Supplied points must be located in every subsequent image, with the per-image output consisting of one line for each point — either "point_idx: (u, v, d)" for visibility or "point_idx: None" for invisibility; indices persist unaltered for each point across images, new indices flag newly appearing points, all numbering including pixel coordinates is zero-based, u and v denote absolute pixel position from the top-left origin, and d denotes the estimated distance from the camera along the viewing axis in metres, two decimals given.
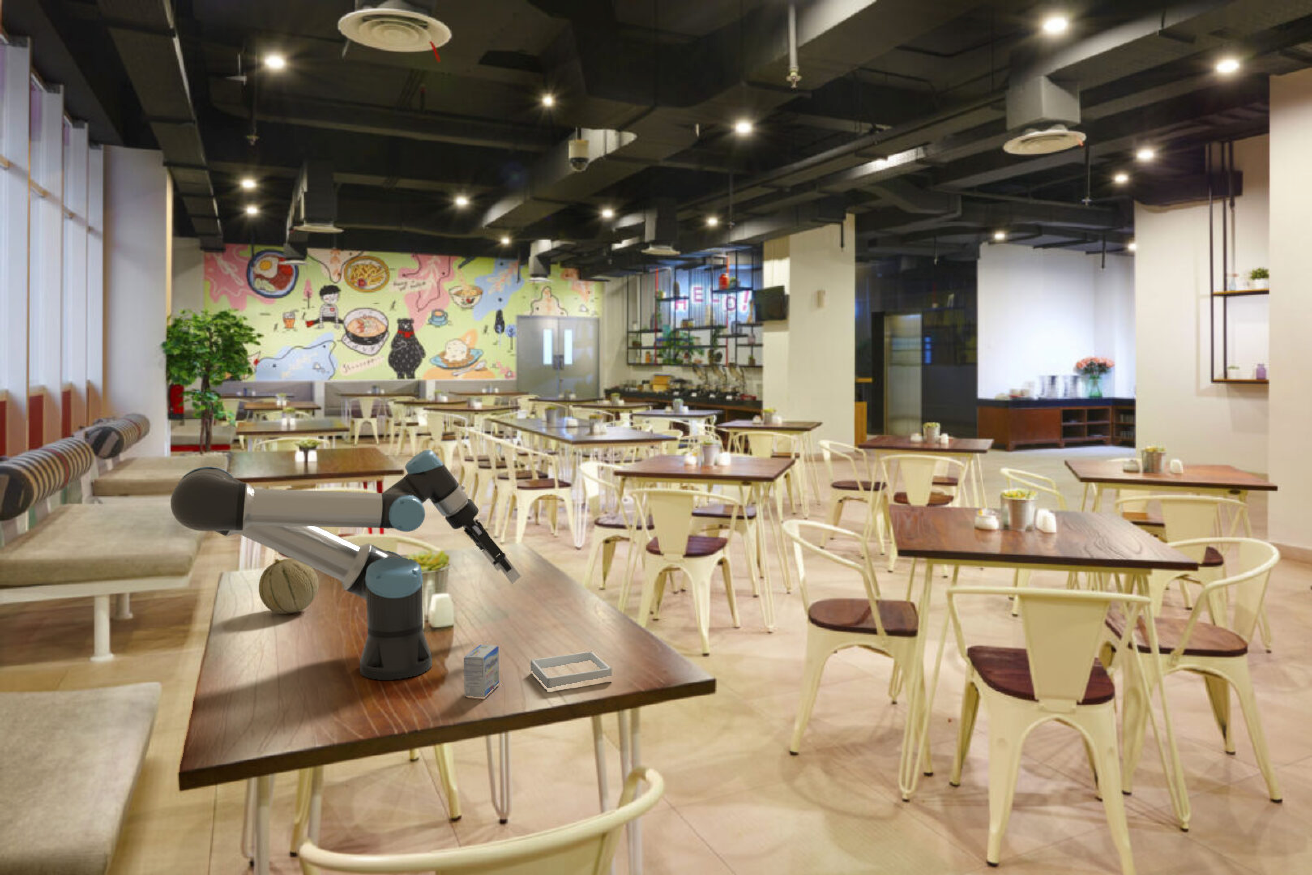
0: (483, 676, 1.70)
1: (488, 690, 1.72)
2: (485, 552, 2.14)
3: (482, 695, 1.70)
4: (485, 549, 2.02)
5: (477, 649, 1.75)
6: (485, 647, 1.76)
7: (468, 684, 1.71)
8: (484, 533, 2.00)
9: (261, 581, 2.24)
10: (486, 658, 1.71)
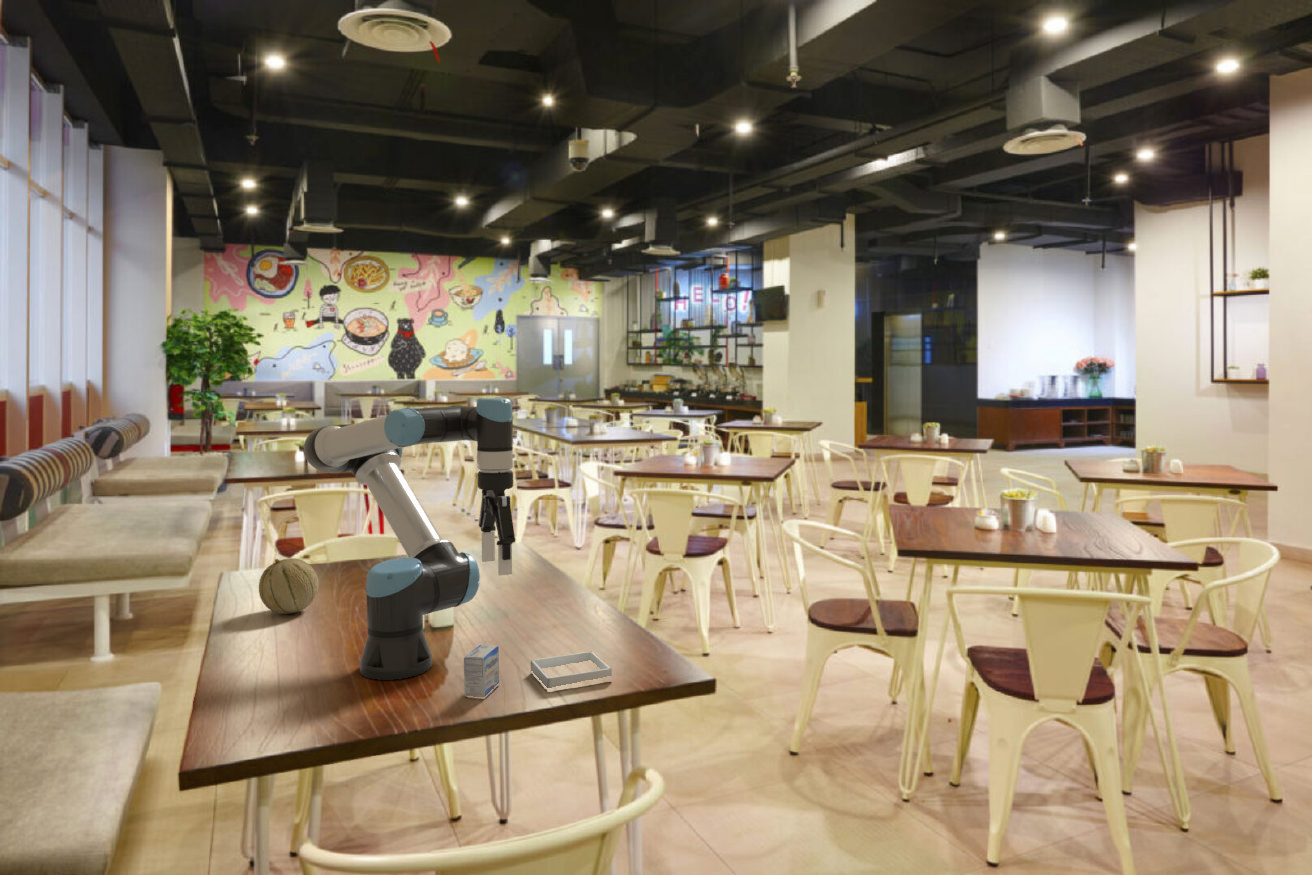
0: (483, 676, 1.70)
1: (488, 690, 1.72)
2: (484, 535, 1.90)
3: (482, 695, 1.70)
4: (497, 525, 1.79)
5: (477, 649, 1.75)
6: (485, 648, 1.76)
7: (468, 684, 1.71)
8: (508, 508, 1.78)
9: (261, 581, 2.24)
10: (486, 658, 1.71)
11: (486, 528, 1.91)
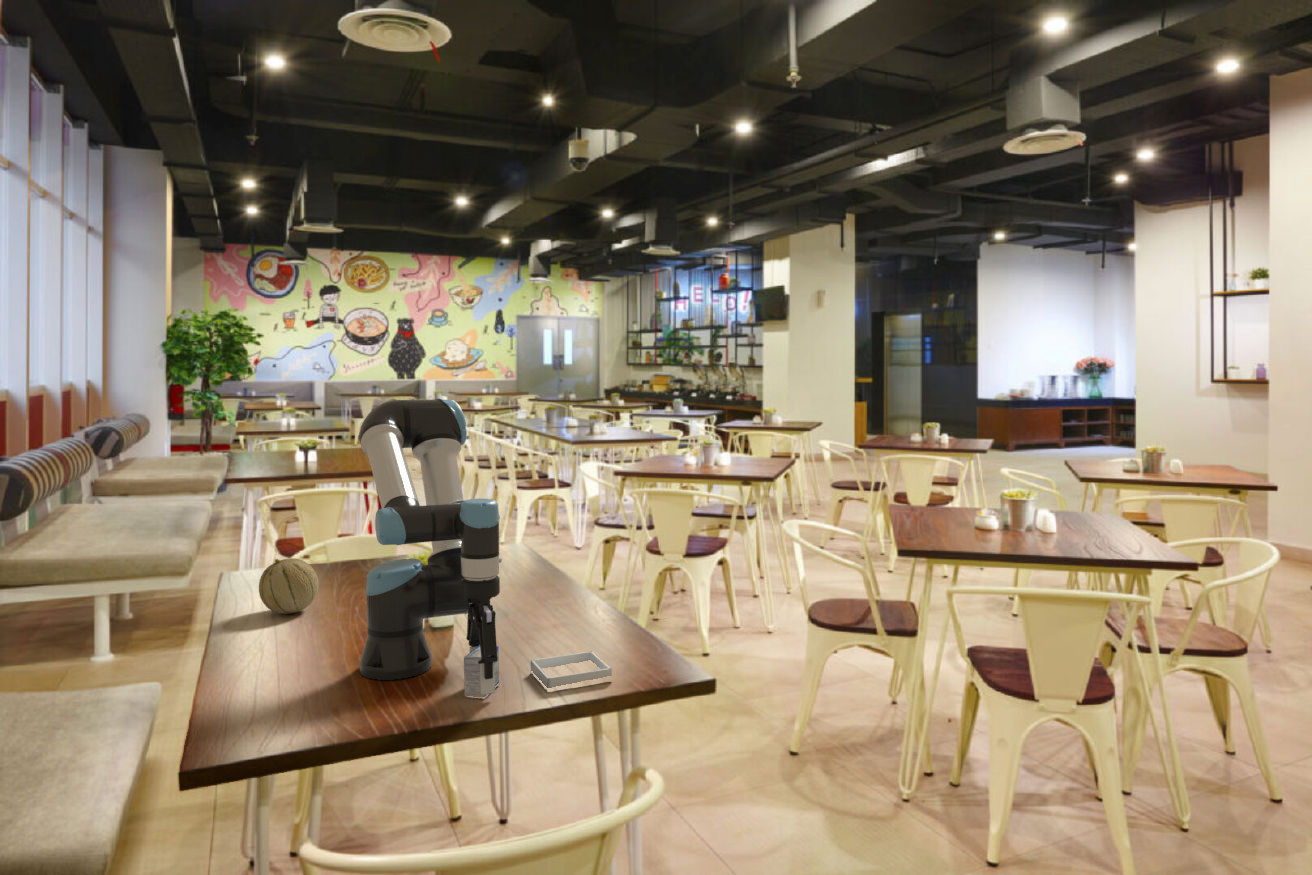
0: None
1: None
2: (472, 650, 1.78)
3: (482, 695, 1.70)
4: (480, 640, 1.69)
5: (477, 649, 1.75)
6: None
7: (468, 684, 1.71)
8: (492, 624, 1.68)
9: (261, 581, 2.24)
10: None
11: (474, 642, 1.78)
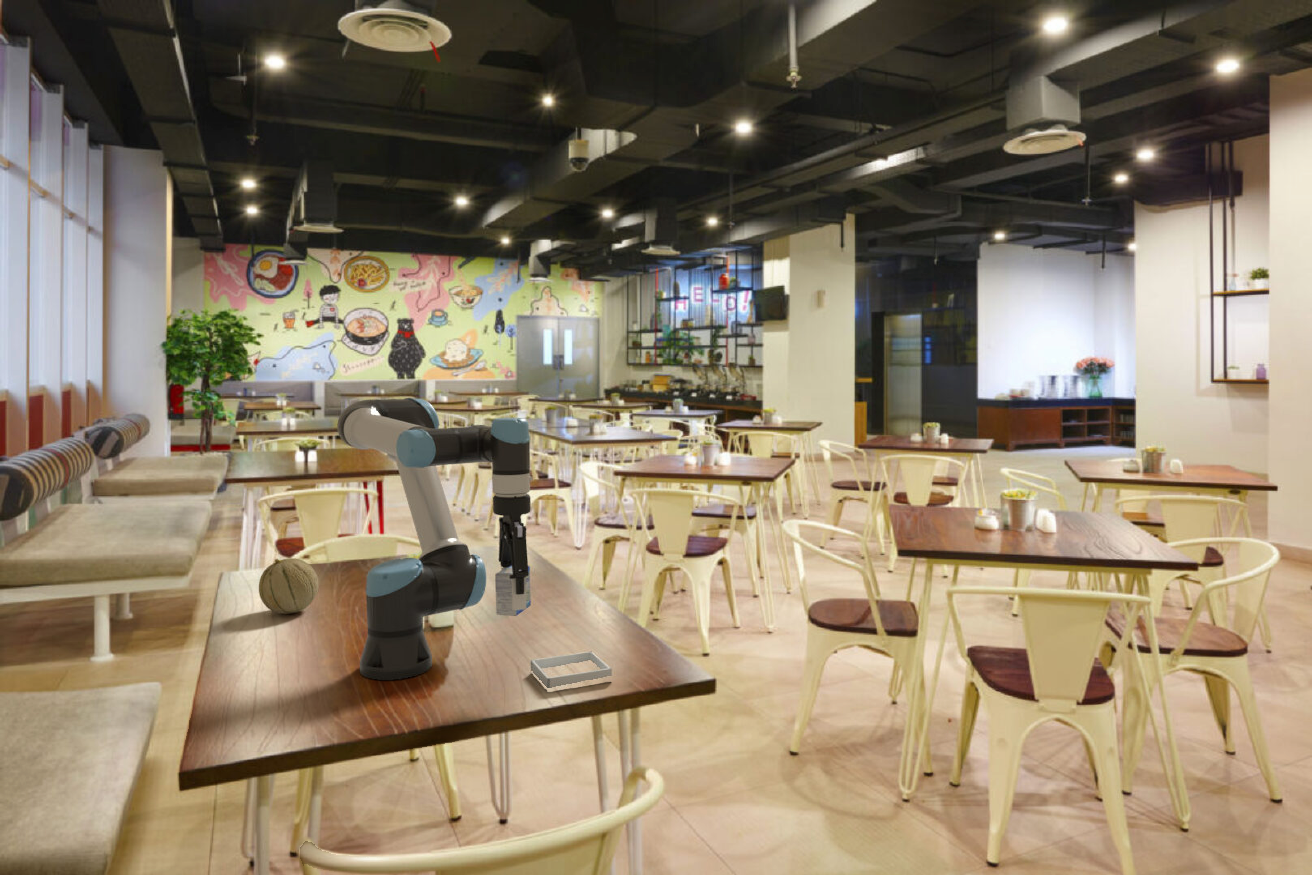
0: None
1: None
2: None
3: (513, 611, 1.71)
4: (511, 556, 1.70)
5: (508, 568, 1.76)
6: None
7: (499, 601, 1.72)
8: (523, 539, 1.68)
9: (261, 581, 2.24)
10: None
11: (506, 563, 1.79)
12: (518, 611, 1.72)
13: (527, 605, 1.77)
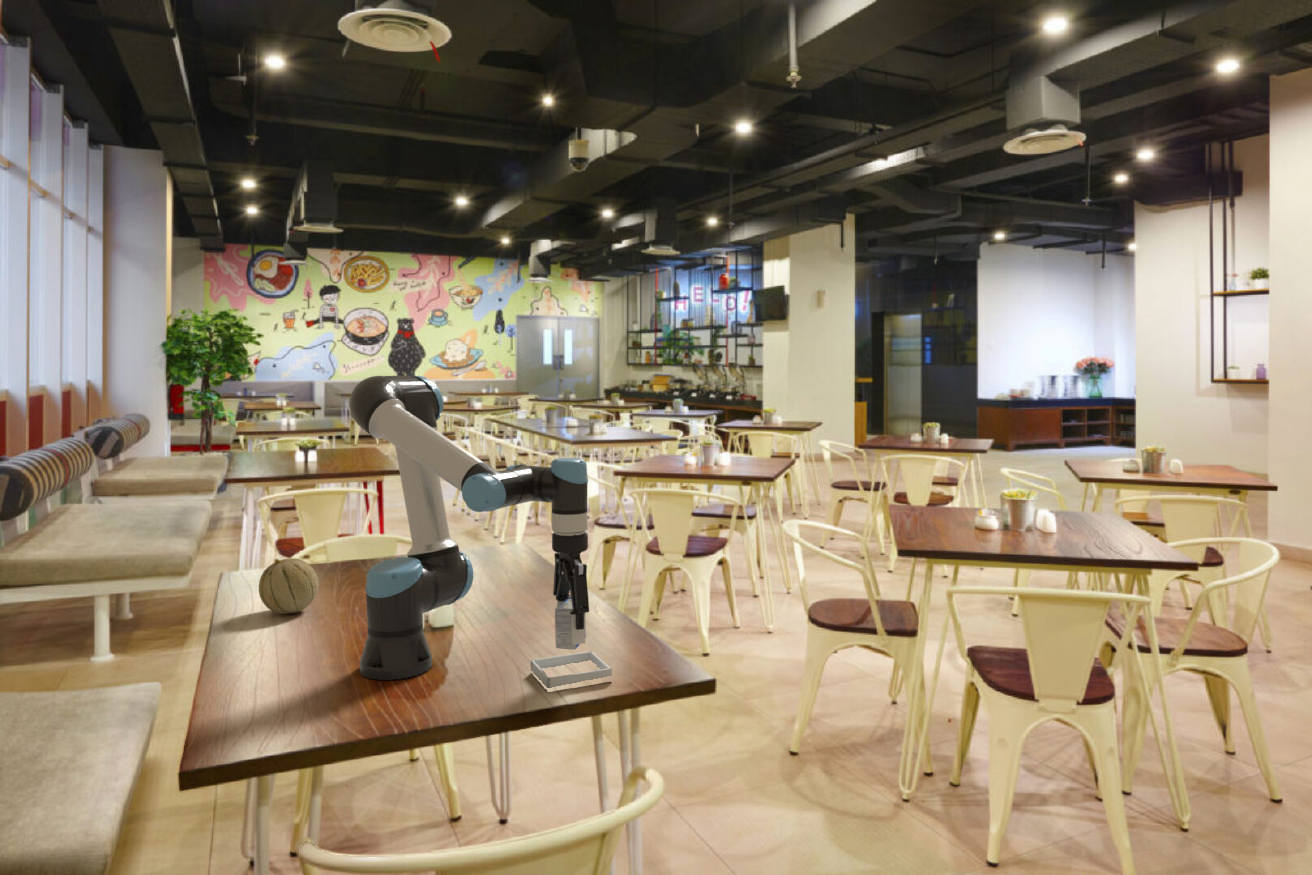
0: None
1: None
2: (560, 604, 1.85)
3: (573, 645, 1.78)
4: (571, 592, 1.76)
5: (566, 602, 1.82)
6: None
7: (559, 635, 1.78)
8: (584, 576, 1.75)
9: (261, 581, 2.24)
10: None
11: (561, 597, 1.86)
12: (577, 645, 1.79)
13: None
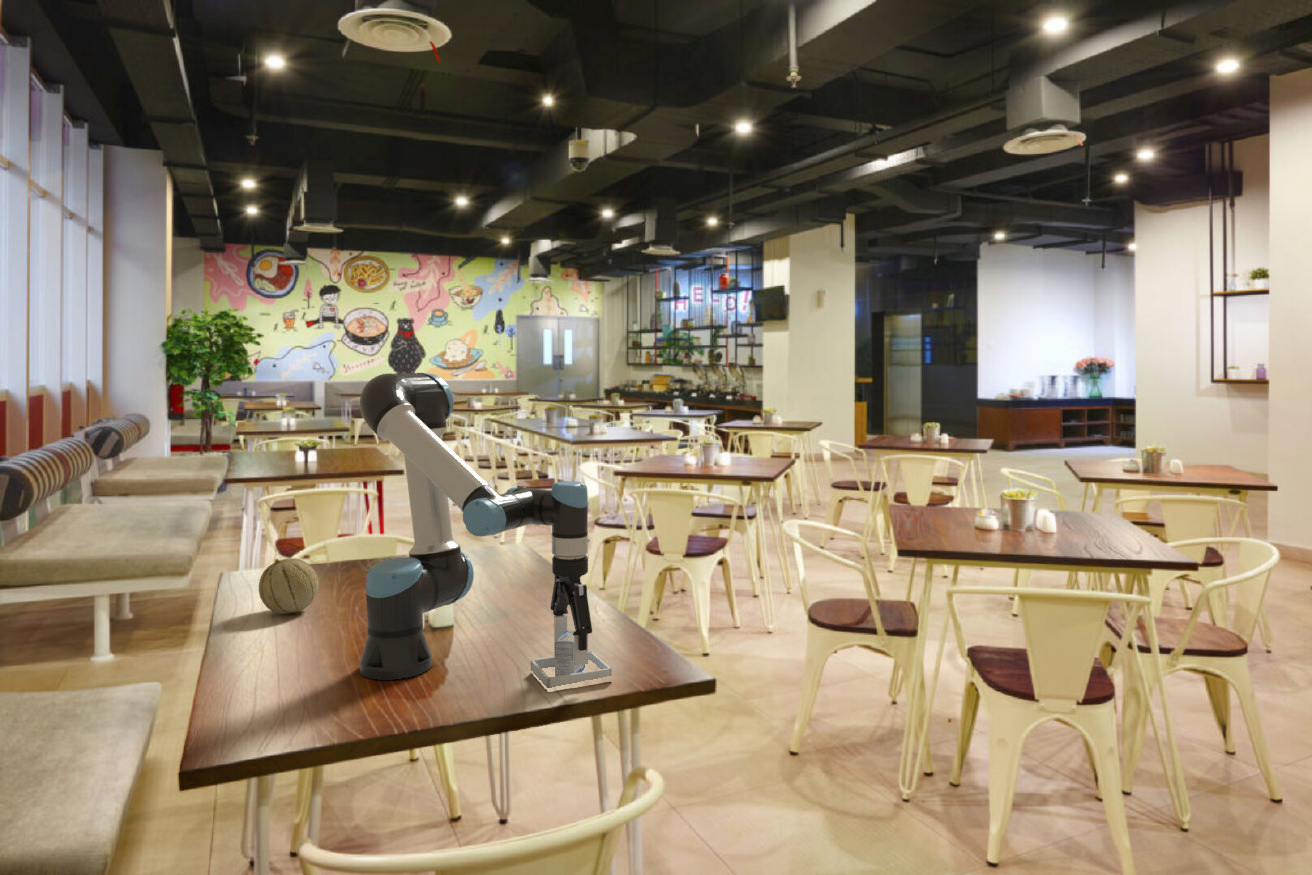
0: (573, 659, 1.78)
1: None
2: (557, 619, 1.87)
3: None
4: (573, 614, 1.76)
5: (565, 634, 1.83)
6: (572, 633, 1.83)
7: (558, 667, 1.79)
8: (585, 597, 1.75)
9: (261, 581, 2.24)
10: None
11: (558, 612, 1.88)
12: None
13: (582, 669, 1.84)
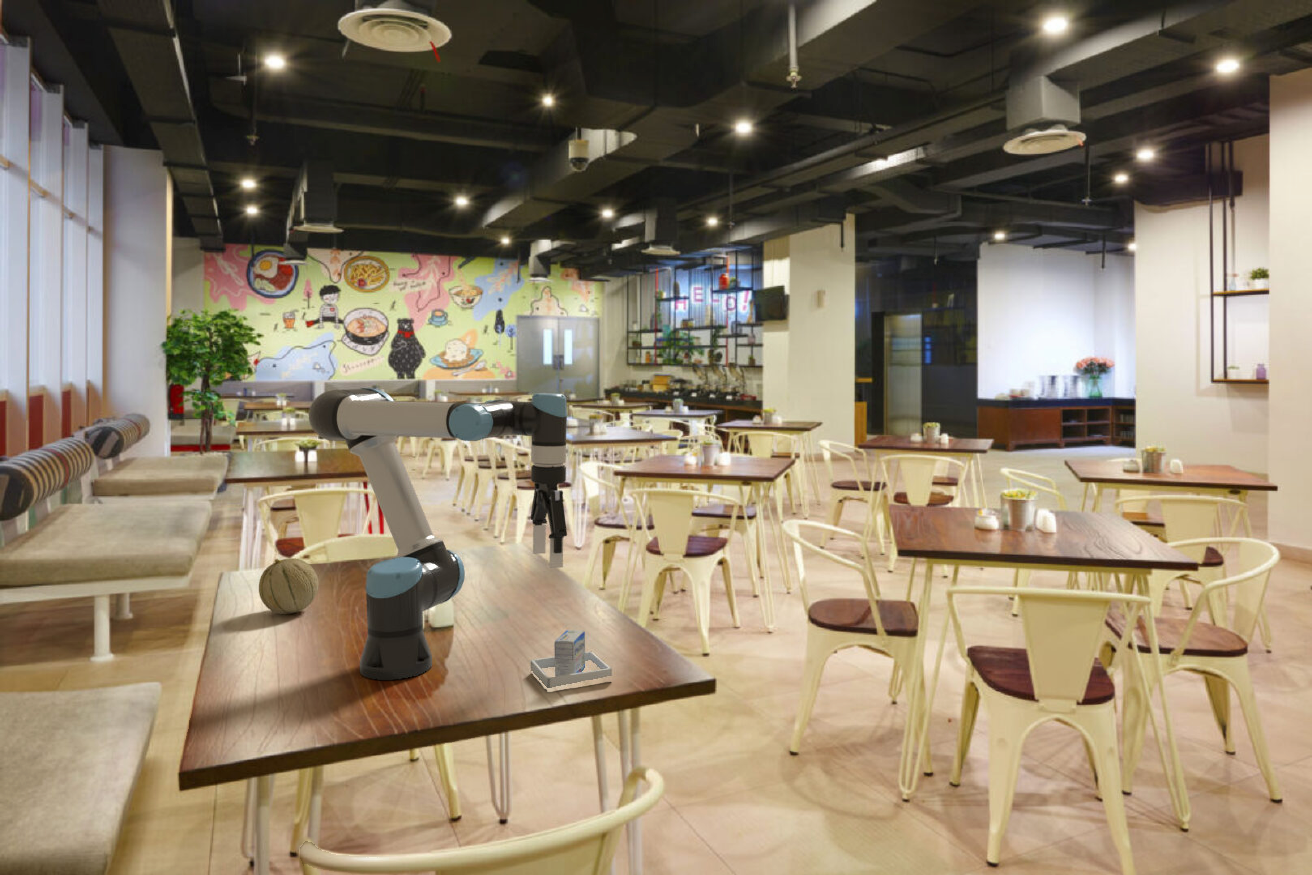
0: (573, 659, 1.78)
1: None
2: (536, 528, 1.93)
3: None
4: (549, 518, 1.82)
5: (565, 634, 1.83)
6: (572, 633, 1.83)
7: (558, 667, 1.79)
8: (561, 502, 1.81)
9: (261, 581, 2.24)
10: (576, 642, 1.79)
11: (538, 521, 1.94)
12: None
13: (582, 669, 1.84)
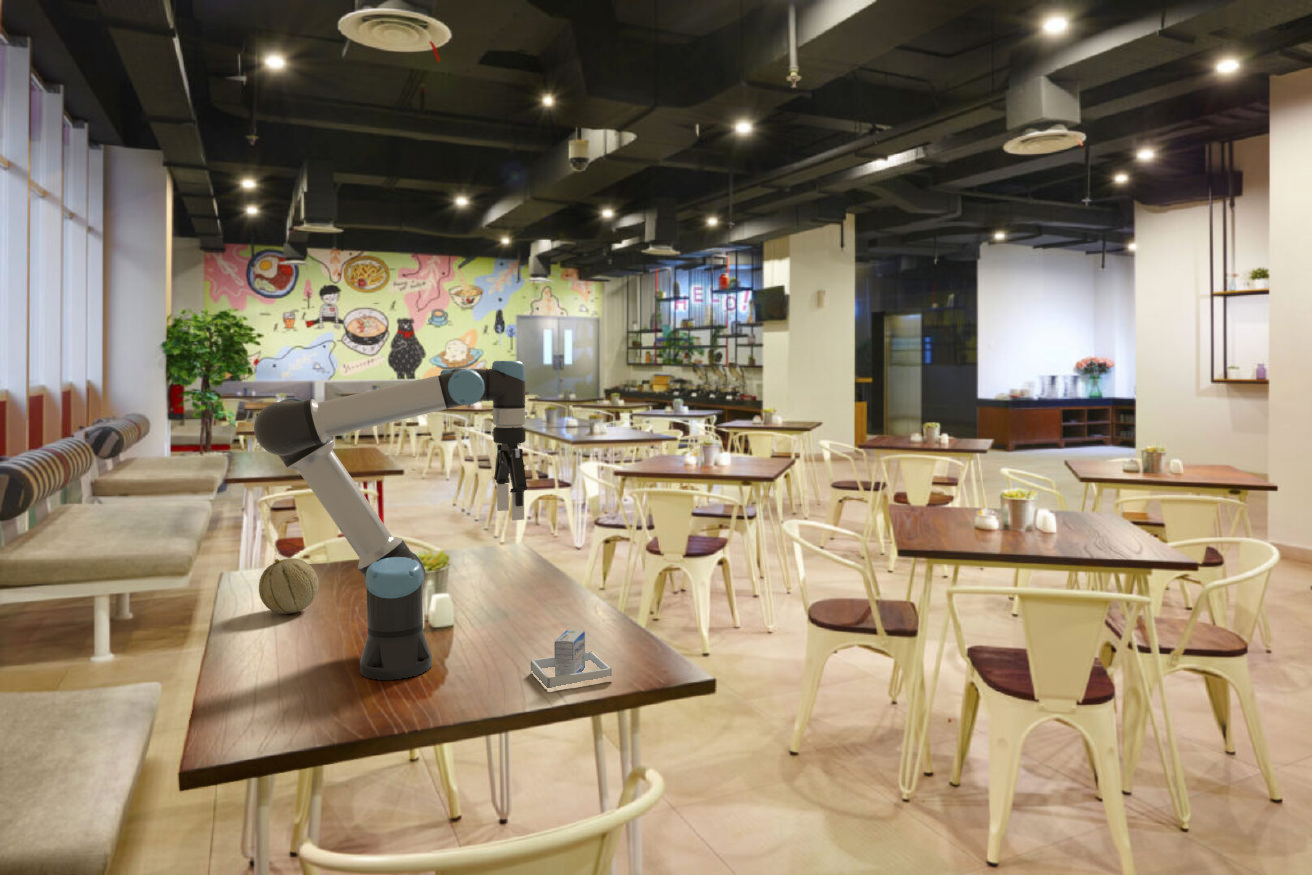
0: (573, 659, 1.78)
1: None
2: (499, 486, 2.09)
3: None
4: (511, 475, 1.98)
5: (565, 634, 1.83)
6: (572, 633, 1.83)
7: (558, 667, 1.79)
8: (521, 459, 1.97)
9: (261, 581, 2.24)
10: (576, 642, 1.79)
11: (501, 480, 2.10)
12: None
13: (582, 669, 1.84)
